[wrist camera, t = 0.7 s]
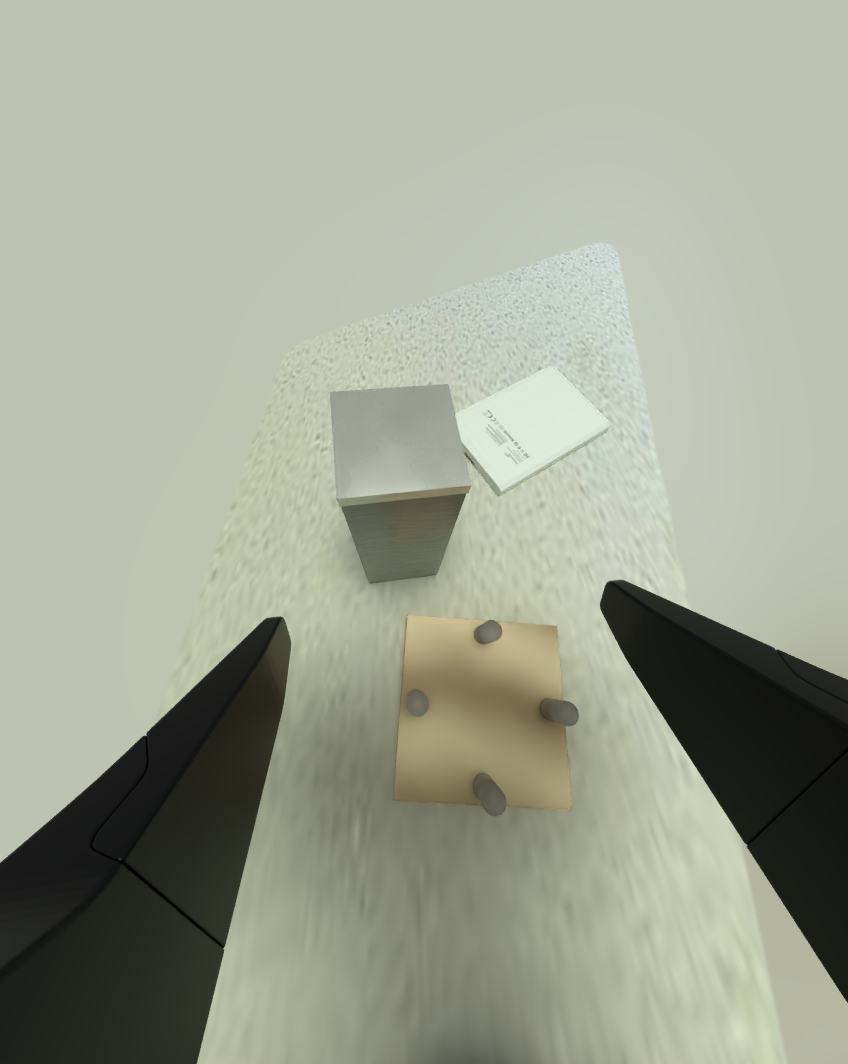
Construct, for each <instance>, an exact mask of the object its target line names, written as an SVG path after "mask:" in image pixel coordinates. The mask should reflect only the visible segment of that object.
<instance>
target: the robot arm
mask: <svg viewBox="0 0 848 1064" xmlns="http://www.w3.org/2000/svg"><path fill="white" fill-rule="evenodd" d="M600 608H601V611H602V613H603V615H604V617H605V619H606V621H607V623H608V625H609V627H610V629H611V631H612V633H613V635H614V637H615V639H616V641H617V643H618V645H619V647H620V649H621V651H622V652H623V654H624V656H625V658H626V659H627V661H628V663H629V664H630V666H631V668H632V669H633V671H634V672H635V674H636V675H637V677H638V678H639V680H640V682H641V683H642V685H643V686H644V688H645V689H646V691H647V692H648V694H649V696H650V697H651V699H652V700H653V702H654V703H655V705H656V706H657V708H658V709H659V711H660V713H661V714H662V716H663V717H664V719H665V720H666V722H667V723H668V725H669V727H670V728H671V730H672V731H673V733H674V734H675V736H676V737H677V739H678V741H679V742H680V744H681V745H682V747H683V748H684V750H685V751H686V753H687V754H688V756H689V758H690V759H691V761H692V762H693V764H694V765H695V767H696V768H697V770H698V772H699V773H700V775H701V776H702V778H703V779H704V781H705V782H706V784H707V785H708V787H709V789H710V790H711V792H712V793H713V795H714V796H715V798H716V799H717V801H718V803H719V804H720V806H721V807H722V809H723V810H724V812H725V813H726V815H727V817H728V818H729V820H730V821H731V823H732V824H733V826H734V827H735V829H736V830H737V832H738V834H739V835H740V837H741V838H742V840H743V841H744V843H745V844H747V848H748V849H749V851H750V853H751V854H752V856H753V857H754V859H755V860H756V862H757V863H758V865H759V866H760V868H761V870H762V871H763V872H764V874H765V876H766V877H767V879H768V881H769V882H770V884H771V885H772V887H773V888H774V890H775V891H776V893H777V895H778V896H779V898H780V899H781V901H782V902H783V904H784V905H785V907H786V908H787V910H788V912H789V913H790V915H791V916H792V917H793V919H794V921H795V922H796V924H797V926H798V927H799V929H800V930H801V932H802V933H803V935H804V936H805V938H806V939H807V941H808V943H809V944H810V946H811V947H812V949H813V950H814V952H815V954H816V955H817V957H818V958H819V960H820V961H821V963H822V964H823V966H824V967H825V969H826V971H827V972H828V974H829V975H830V977H831V978H832V980H833V982H834V983H835V985H836V986H837V988H838V989H839V991H840V992H841V994H842V995H843V997H844V998H845V1000H846V1001H847V1002H848V680H847V679H845V678H842V677H840V676H837V675H835V674H832V673H830V672H828V671H825V670H823V669H821V668H818V667H816V666H814V665H811V664H809V663H807V662H805V661H803V660H800V659H798V658H795V657H794V656H791V655H789V654H787V653H785V652H782V651H780V650H775V648H773V647H771V646H769V645H767V644H764V643H762V642H760V641H758V640H756V639H753V638H751V637H749V636H747V635H744V634H742V633H740V632H738V631H736V630H733V629H731V628H729V627H726V626H724V625H722V624H720V623H718V622H715V621H713V620H711V619H709V618H707V617H704V616H702V615H700V614H698V613H696V612H693V611H691V610H689V609H687V608H684V607H682V606H680V605H678V604H676V603H673V602H671V601H669V600H667V599H664V598H662V597H660V596H658V595H656V594H653V593H651V592H649V591H647V590H644V589H642V588H640V587H638V586H636V585H633V584H631V583H629V582H627V581H624V580H614V581H609V582H607V583H606V585H605V588H604V591H603V595H602V598H601V602H600ZM290 651H291V639H290V636H289V632H288V629H287V626H286V623H285V620H284V618H283V617H270V618H266V619H265V620H263V621H262V622H261V623H260V624H259V625H258V626H257V627H256V628H255V629H254V630H253V631H252V632H251V633H250V634H249V635H248V636H247V637H246V638H245V639H244V640H243V641H242V642H241V643H240V644H238V645H237V646H236V647H235V648H234V649H233V650H232V651H231V652H230V653H229V654H228V655H227V656H226V657H225V658H224V659H223V660H222V661H221V662H220V663H219V664H218V665H217V666H216V667H215V668H214V669H212V670H211V671H210V672H209V673H208V674H207V675H206V676H205V677H204V678H203V679H202V680H201V681H200V682H199V683H198V684H197V685H196V686H195V687H194V688H193V689H192V690H191V691H190V692H189V693H187V694H186V695H185V696H184V697H183V698H182V699H181V700H180V701H179V702H178V703H177V704H176V705H175V706H174V707H173V708H172V709H171V710H170V711H169V712H168V713H167V714H166V715H165V716H164V717H162V718H161V719H160V720H159V721H158V722H157V723H156V724H155V725H154V726H153V727H152V728H151V729H150V730H149V731H148V732H147V736H143V737H142V738H141V739H140V740H139V741H137V743H135V744H134V745H133V746H132V747H131V748H130V749H129V750H128V751H127V752H126V753H125V754H124V755H123V756H122V757H120V759H118V760H117V761H116V762H115V763H114V764H113V765H112V766H111V767H110V768H109V769H108V770H107V771H105V772H104V773H103V774H102V775H101V776H100V777H99V778H98V779H97V780H96V781H95V782H93V783H92V784H91V785H90V786H89V787H88V788H87V789H85V790H84V791H83V792H82V793H81V794H80V795H79V796H77V797H76V798H75V799H74V800H73V801H72V802H71V803H70V804H68V805H67V806H66V807H65V808H64V809H63V810H61V811H60V812H59V813H58V814H57V815H56V816H54V817H53V818H52V819H51V820H50V821H49V822H47V823H46V824H45V825H44V826H43V827H42V828H40V829H39V830H38V831H37V832H36V833H35V834H33V835H32V836H31V837H30V838H29V839H28V840H26V841H25V842H24V843H23V844H22V845H21V846H19V847H18V848H17V849H16V850H15V851H14V852H13V853H11V854H10V855H9V856H8V857H7V858H6V859H4V860H3V861H2V862H1V863H0V1064H197V1061H198V1057H199V1053H200V1048H201V1044H202V1040H203V1036H204V1032H205V1028H206V1024H207V1020H208V1015H209V1011H210V1007H211V1003H212V999H213V995H214V991H215V987H216V982H217V978H218V974H219V970H220V966H221V962H222V958H223V954H224V949H223V948H224V947H225V944H226V940H227V936H228V932H229V928H230V924H231V920H232V916H233V911H234V907H235V903H236V899H237V895H238V891H239V887H240V883H241V879H242V874H243V870H244V866H245V862H246V858H247V854H248V850H249V846H250V842H251V837H252V833H253V829H254V825H255V821H256V817H257V813H258V809H259V804H260V800H261V796H262V792H263V788H264V784H265V780H266V776H267V772H268V767H269V763H270V759H271V755H272V751H273V747H274V743H275V739H276V734H277V730H278V726H279V722H280V718H281V714H282V709H283V705H284V698H285V691H286V683H287V675H288V667H289V659H290Z"/></svg>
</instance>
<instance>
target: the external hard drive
mask: <svg viewBox="0 0 848 1064" xmlns="http://www.w3.org/2000/svg"><path fill="white" fill-rule="evenodd" d="M455 416H456V420H457V425H458V429H459V434H460V438H461V442H462V447H463V451H464V453H466V454H467V455H468V456H469V458H470V459H471V460H472V461H473V463H474V466H475V468H476V469H477V470H478V471H479V473H480V474H481V475H482V476H483V478H484V479H485V480H486V481H487V483H488V484H489V485H490V486H491V488H492V489H493V490H494V491H495V493H496V494H497V495H498V496H500V495H502V494H503V493H505V492H507V491H508V490H510V489H512V488H514V487H515V486H517V485H518V484H520V483H522V482H524V481H525V480H527V479H529V478H530V477H532V476H534V475H535V474H537V473H539V472H540V471H542V470H544V469H545V468H547V467H549V466H550V465H552V464H554V463H555V462H557V461H558V460H560V459H562V458H563V457H565V456H567V455H568V454H570V453H572V452H573V451H575V450H577V449H579V448H580V447H582V446H583V445H585V444H587V443H588V442H590V441H592V440H593V439H595V438H597V437H598V436H600V435H602V434H603V433H605V432H606V431H607V430H608V429H609V428H610V427H611V424H610V422H609V421H608V419H607V418H606V417H605V416H604V415H603V414H602V413H601V412H600V411H599V410H598V409H597V408H596V407H595V406H594V405H592V404H591V403H590V402H589V401H588V400H587V399H586V398H585V397H584V396H583V395H582V394H581V393H580V392H579V391H578V390H577V389H576V387H574V386H573V385H572V384H571V383H570V382H569V381H568V380H567V379H566V378H565V377H564V376H563V375H562V374H561V373H560V372H559V371H558V370H557V369H556V368H555V367H554V366H552V365H550V366H548V367H546V368H544V369H542V370H540V371H538V372H536V373H534V374H532V375H530V376H528V377H526V378H524V379H522V380H520V381H519V382H517V383H515V384H513V385H511V386H509V387H507V388H505V389H503V390H501V391H499V392H497V393H495V394H493V395H491V396H489V397H487V398H485V399H483V400H481V401H479V402H477V403H475V404H473V405H471V406H469V407H468V408H466V409H464V410H462V411H460V412H458V413H456V414H455Z"/></svg>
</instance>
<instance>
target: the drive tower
mask: <svg viewBox="0 0 848 1064" xmlns="http://www.w3.org/2000/svg"><path fill="white" fill-rule="evenodd" d="M330 399H331V415H332V432H333V448H334V464H335V480H336V496H337V501H338V504H339V507H340V506H341V507H342V510H343V513H344V515H345V518H346V521H347V523H348V526H349V529H350V532H351V534H352V537H353V540H354V542H355V545H356V548H357V551H358V553H359V556H360V559H361V561H362V564H363V567H364V570H365V572H366V575H367V578H368V580H369V583H378V582H386V581H393V580H401V579H409V578H416V577H424V576H432V575H436V574H437V572H438V569H439V566H440V564H441V561H442V558H443V555H444V553H445V550H446V547H447V545H448V542H449V539H450V536H451V534H452V531H453V528H454V525H455V523H456V520H457V517H458V515H459V512H460V509H461V506H462V504H463V501H464V498H465V496H466V493H469V490H470V487H471V482H470V478H469V473H468V469H467V465H466V460H465V456H464V451H463V447H462V442H461V438H460V434H459V429H458V425H457V420H456V416H455V411H454V407H453V403H452V398H451V394H450V389H449V385H448V384H442V385H427V386H413V387H398V388H383V389H368V390H353V391H338V392H330Z"/></svg>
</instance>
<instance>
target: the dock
mask: <svg viewBox="0 0 848 1064" xmlns="http://www.w3.org/2000/svg"><path fill="white" fill-rule="evenodd" d="M578 716H579V715H578V710H577V708H576V707H575V705H574V704H572V703H571V702H568V701H563V695H562V683H561V671H560V658H559V646H558V634H557V626H550V625H536V624H523V623H509V622H496V621H494V620H489V621H481V620H467V619H453V618H439V617H425V616H411V615H408V617H407V629H406V642H405V654H404V667H403V680H402V693H401V706H400V718H399V731H398V744H397V757H396V769H395V782H394V795H393V800H396V801H415V802H434V803H453V804H471V805H482V806H483V807H484V809H485V811H486V812H487V813H488V814H489V815H491V816H499V815H501V814H502V813H503V812H504V810H505V808H506V806H509V807H527V808H546V809H565V810H572V804H571V792H570V780H569V767H568V755H567V743H566V731H565V725H566V726H573V725H574V724H576V722H577V721H578Z"/></svg>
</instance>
